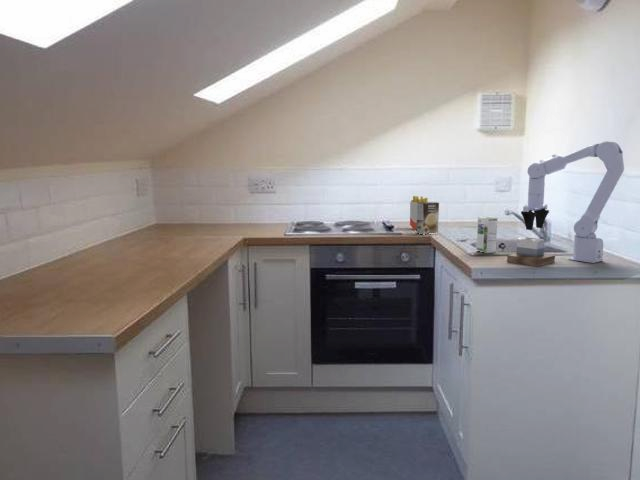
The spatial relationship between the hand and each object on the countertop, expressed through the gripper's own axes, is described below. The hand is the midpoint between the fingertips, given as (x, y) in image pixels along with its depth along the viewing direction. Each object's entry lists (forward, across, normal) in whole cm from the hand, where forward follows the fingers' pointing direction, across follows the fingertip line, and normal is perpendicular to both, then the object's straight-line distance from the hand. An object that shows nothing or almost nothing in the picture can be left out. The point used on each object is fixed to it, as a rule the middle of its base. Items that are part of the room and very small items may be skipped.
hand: (534, 228), depth 210 cm
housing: (+8, +14, +7) cm, 17 cm away
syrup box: (+11, +8, -16) cm, 21 cm away
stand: (+10, +14, +7) cm, 19 cm away
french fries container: (+11, -24, -78) cm, 82 cm away
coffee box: (+11, -14, -65) cm, 67 cm away
